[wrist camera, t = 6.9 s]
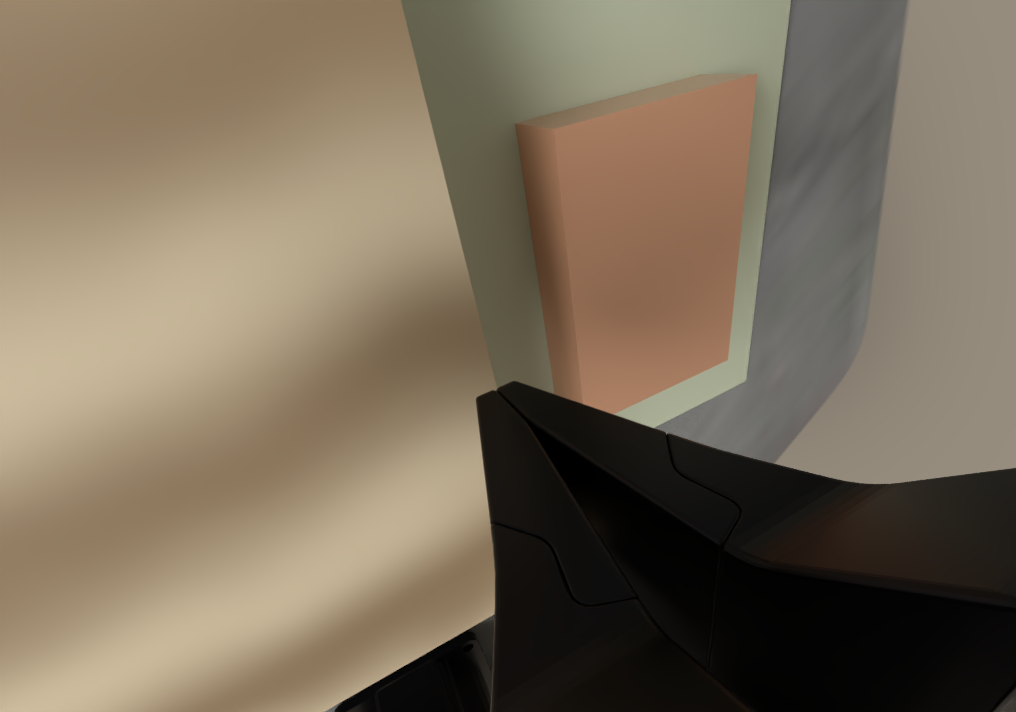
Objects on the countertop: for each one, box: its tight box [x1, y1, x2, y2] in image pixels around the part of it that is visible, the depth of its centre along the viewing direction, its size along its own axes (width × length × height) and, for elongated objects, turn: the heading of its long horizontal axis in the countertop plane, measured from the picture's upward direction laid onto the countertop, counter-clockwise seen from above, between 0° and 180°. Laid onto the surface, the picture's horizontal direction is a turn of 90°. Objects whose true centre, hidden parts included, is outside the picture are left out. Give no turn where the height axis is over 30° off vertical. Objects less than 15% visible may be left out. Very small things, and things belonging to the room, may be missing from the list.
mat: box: [401, 0, 791, 428], centre depth 16 cm, size 18×12×1 cm, turn 11°
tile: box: [515, 74, 757, 414], centre depth 15 cm, size 9×6×2 cm, turn 10°
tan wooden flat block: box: [0, 0, 497, 712], centre depth 11 cm, size 18×12×4 cm, turn 11°
